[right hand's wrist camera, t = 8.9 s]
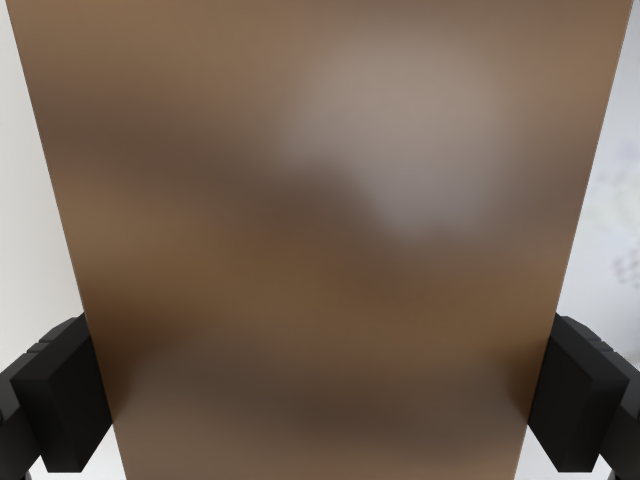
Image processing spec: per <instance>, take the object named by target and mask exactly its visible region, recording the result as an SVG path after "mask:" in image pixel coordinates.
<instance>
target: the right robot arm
mask: <svg viewBox="0 0 640 480" xmlns="http://www.w3.org/2000/svg"><path fill="white" fill-rule="evenodd" d="M111 425H112V420H111V416H110V412H109V408H108V404H107V400H106V396H105V392H104V388H103V384H102V380H101V376H100V372H99V368H98V365H97V361H96V357H95V353H94V349H93V345H92V341H91V337H90V333H89V329H88V325H87V321H86V317H85V313H84V312H83V313H82V314H81V315H80V316H79V317H78V318H71V319H69V320H67V321H65V322H63V323H61V324H60V325H58V326H56V327H54V328H53V329H51V330H50V331H49V332H48V333H47V334H46V335H44V336H43V337H42V338H41V339H40V340H39V342H38V343H35V344H34V345H33V346H32V347H30V348H29V349H28V350H27V353H23V354H22V355H21V356H20V357H19V358H18V359H16V360H15V361H14V362H13V363H12V364H11V365H10V366H8V367H7V368H6V369H5V370H4V371H3V372H1V373H0V480H32V479H31V475H30V473H29V471H28V470H29V469H30V467H31V466H32V465H33V464H34V462H35V461H36V460H37V459H38V457H39V456H40V455H41V457H42V459H43V462H44V464H45V467H46V469H47V471H48V473H81V472H82V470H83V469H84V467H85V466H86V464H87V463H88V461H89V459H90V458H91V456H92V455H93V453H94V452H95V450H96V448H97V447H98V445H99V444H100V442H101V441H102V439H103V437H104V436H105V434H106V433H107V431H108V430H109V428H110V427H111ZM528 425H529V427H530V429H531V430H532V432H533V433H534V435H535V436H536V438H537V440H538V441H539V443H540V444H541V446H542V447H543V449H544V451H545V452H546V454H547V455H548V457H549V458H550V460H551V461H552V463H553V465H554V466H555V468H556V469H557V471H558V472H592V470H593V468H594V465H595V463H596V461H597V458H598V456H599V453H600V454H601V456H602V457H603V458H604V459H605V461H606V462H607V463H608V465H609V466H610V467H611V468H612V471H611V473H610V475H609V477H608V480H640V372H639V371H638V370H637V369H636V368H635V367H633V366H632V365H631V364H630V363H629V362H628V361H626V360H625V359H624V358H623V357H622V356H621V355H619V354H618V353H617V352H614V351H613V349H612V348H611V347H610V346H609V345H608V344H607V343H605V342H604V341H601V338H599V337H598V336H597V335H596V334H595V333H594V332H592V331H591V330H590V329H589V328H588V327H586V326H585V325H583V324H581V323H579V322H577V321H575V320H574V319H572V318H570V317H568V316H560V315H559V314H557V313H555V317H554V321H553V325H552V329H551V333H550V337H549V341H548V345H547V349H546V353H545V357H544V361H543V365H542V369H541V373H540V377H539V381H538V385H537V389H536V393H535V397H534V401H533V405H532V409H531V413H530V417H529V421H528Z"/></svg>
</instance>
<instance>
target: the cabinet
mask: <svg viewBox="0 0 640 480" xmlns="http://www.w3.org/2000/svg"><path fill="white" fill-rule="evenodd" d="M5 1H6V5H7V8H8V12H9V16H10V20H11V24H12V28H13V32H14V36H15V40H16V44H17V48H18V52H19V56H20V60H21V64H22V68H23V72H24V76H25V80H26V84H27V88H28V92H29V96H30V99H31V103H32V107H33V111H34V115H35V119H36V123H37V127H38V131H39V135H40V139H41V143H42V147H43V151H44V155H45V159H46V163H47V167H48V171H49V175H50V179H51V183H52V186H53V190H54V194H55V198H56V202H57V206H58V210H59V214H60V218H61V222H62V226H63V230H64V234H65V238H66V242H67V246H68V250H69V254H70V258H71V262H72V266H73V270H74V274H75V277H76V281H77V285H78V289H79V293H80V297H81V301H82V305H83V309H84V313H85V317H86V321H87V325H88V329H89V333H90V337H91V341H92V345H93V349H94V353H95V357H96V361H97V365H98V368H99V372H100V376H101V380H102V384H103V388H104V392H105V396H106V400H107V404H108V408H109V412H110V416H111V420H112V424H113V428H114V432H115V436H116V440H117V444H118V448H119V452H120V455H121V459H122V463H123V467H124V471H125V475H126V479H127V480H514V477H515V473H516V469H517V465H518V461H519V457H520V453H521V449H522V445H523V441H524V437H525V433H526V429H527V425H528V421H529V417H530V413H531V409H532V405H533V401H534V397H535V393H536V389H537V385H538V381H539V377H540V373H541V369H542V365H543V361H544V357H545V353H546V349H547V345H548V341H549V337H550V333H551V329H552V325H553V321H554V317H555V313H556V309H557V305H558V301H559V297H560V293H561V289H562V285H563V281H564V277H565V273H566V269H567V265H568V261H569V257H570V253H571V249H572V245H573V241H574V237H575V233H576V229H577V225H578V221H579V217H580V213H581V209H582V205H583V201H584V197H585V193H586V189H587V185H588V181H589V177H590V173H591V169H592V164H593V160H594V156H595V152H596V148H597V144H598V140H599V136H600V132H601V128H602V124H603V120H604V116H605V112H606V108H607V104H608V100H609V96H610V92H611V88H612V84H613V80H614V76H615V72H616V68H617V64H618V60H619V56H620V52H621V48H622V44H623V40H624V36H625V32H626V28H627V24H628V20H629V16H630V12H631V8H632V4H633V0H5Z"/></svg>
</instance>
